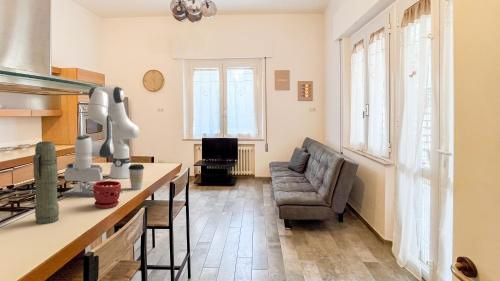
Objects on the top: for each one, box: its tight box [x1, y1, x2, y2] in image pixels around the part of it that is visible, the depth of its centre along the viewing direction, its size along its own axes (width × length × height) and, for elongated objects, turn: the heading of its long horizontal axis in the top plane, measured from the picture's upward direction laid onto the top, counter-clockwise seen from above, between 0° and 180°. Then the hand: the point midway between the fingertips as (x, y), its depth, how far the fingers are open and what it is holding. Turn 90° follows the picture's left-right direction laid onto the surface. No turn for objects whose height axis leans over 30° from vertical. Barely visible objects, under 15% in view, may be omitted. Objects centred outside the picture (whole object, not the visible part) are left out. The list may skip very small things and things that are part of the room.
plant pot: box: [93, 180, 122, 209], centre depth 172 cm, size 13×13×12 cm
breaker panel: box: [62, 186, 98, 198], centre depth 196 cm, size 16×18×2 cm
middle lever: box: [88, 181, 96, 190], centre depth 196 cm, size 3×3×4 cm
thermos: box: [32, 141, 60, 225], centre depth 146 cm, size 9×12×35 cm
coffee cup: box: [128, 163, 145, 191], centre depth 209 cm, size 9×9×15 cm
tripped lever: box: [73, 183, 82, 192], centre depth 190 cm, size 3×3×4 cm
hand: (84, 188), depth 190 cm, fingers closed
